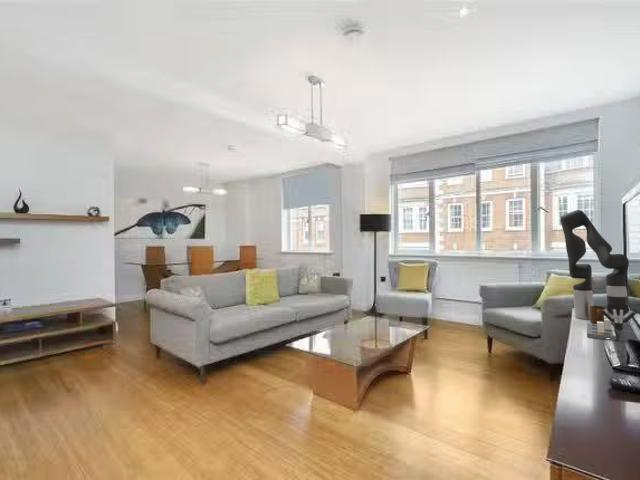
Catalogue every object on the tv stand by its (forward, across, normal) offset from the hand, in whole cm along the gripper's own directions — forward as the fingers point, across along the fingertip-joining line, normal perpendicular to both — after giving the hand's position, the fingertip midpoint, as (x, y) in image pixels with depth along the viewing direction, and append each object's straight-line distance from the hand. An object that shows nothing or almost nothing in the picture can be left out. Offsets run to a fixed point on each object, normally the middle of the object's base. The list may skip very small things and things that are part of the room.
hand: (619, 330), depth 163 cm
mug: (+4, -7, +30) cm, 31 cm away
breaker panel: (+4, -7, +8) cm, 11 cm away
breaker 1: (+2, -7, 0) cm, 7 cm away
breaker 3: (+2, -4, +8) cm, 9 cm away
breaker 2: (+2, -4, +16) cm, 17 cm away
